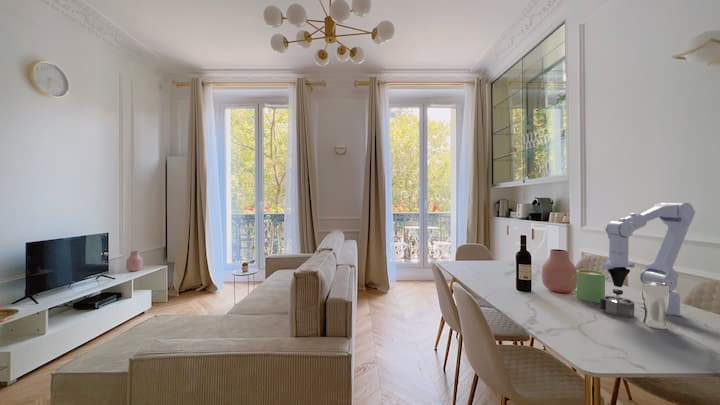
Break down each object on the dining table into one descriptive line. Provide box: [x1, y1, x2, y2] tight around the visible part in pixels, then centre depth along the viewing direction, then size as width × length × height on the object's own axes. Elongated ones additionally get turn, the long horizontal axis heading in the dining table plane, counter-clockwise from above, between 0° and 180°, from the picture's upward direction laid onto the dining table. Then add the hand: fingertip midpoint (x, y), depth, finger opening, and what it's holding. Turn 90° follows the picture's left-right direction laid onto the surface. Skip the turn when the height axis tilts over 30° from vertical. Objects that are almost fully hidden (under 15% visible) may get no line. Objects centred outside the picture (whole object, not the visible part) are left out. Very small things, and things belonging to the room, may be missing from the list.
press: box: [599, 295, 635, 319], centre depth 120 cm, size 10×9×5 cm
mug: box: [569, 268, 606, 304], centre depth 138 cm, size 13×10×12 cm
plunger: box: [607, 288, 629, 304], centre depth 120 cm, size 7×7×5 cm
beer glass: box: [641, 281, 669, 330], centre depth 108 cm, size 7×7×15 cm
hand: (618, 286), depth 120 cm, fingers closed
